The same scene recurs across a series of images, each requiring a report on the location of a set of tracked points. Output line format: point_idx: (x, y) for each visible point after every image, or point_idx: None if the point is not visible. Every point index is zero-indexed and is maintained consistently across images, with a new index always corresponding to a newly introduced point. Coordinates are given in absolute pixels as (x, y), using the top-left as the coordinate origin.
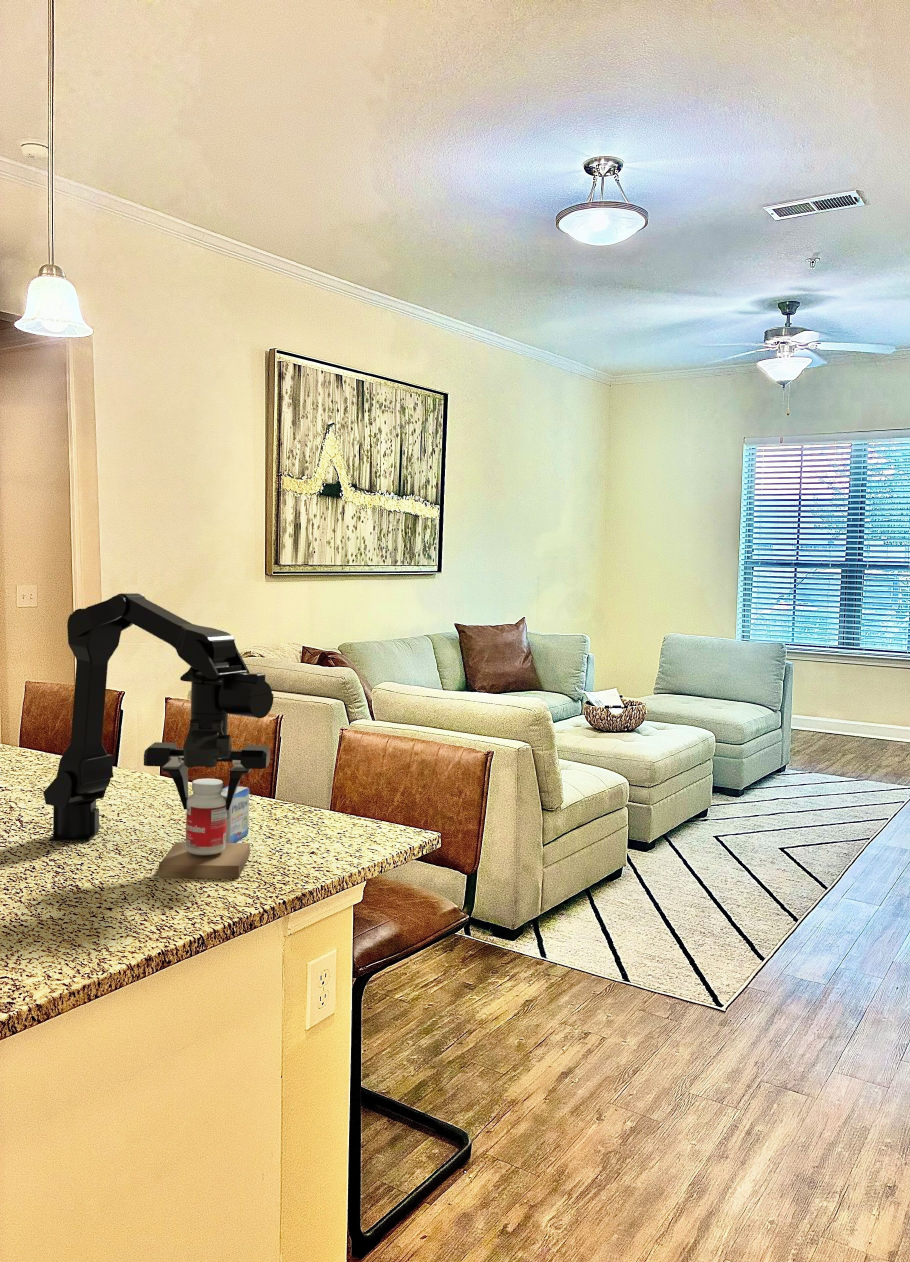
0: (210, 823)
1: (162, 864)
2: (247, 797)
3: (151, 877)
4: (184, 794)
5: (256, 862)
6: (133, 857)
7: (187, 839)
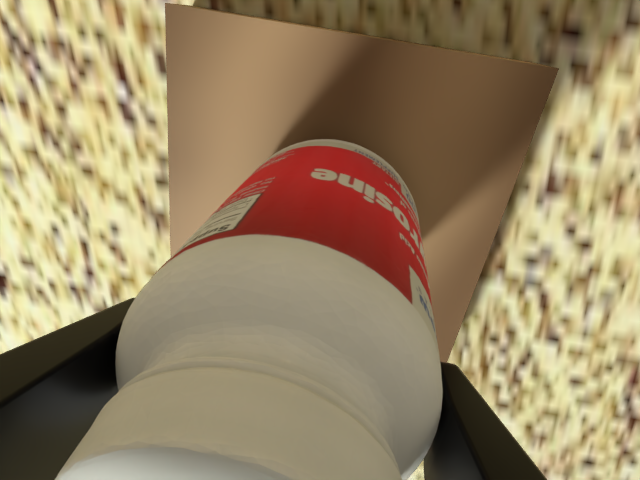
0: (268, 189)
1: (539, 72)
2: None
3: (567, 76)
4: (481, 455)
5: (156, 212)
6: (593, 333)
7: (414, 214)
